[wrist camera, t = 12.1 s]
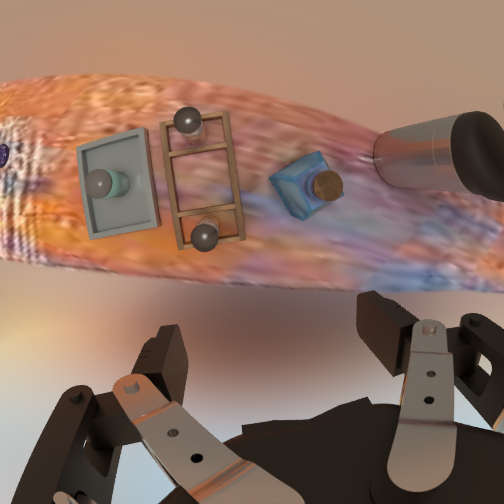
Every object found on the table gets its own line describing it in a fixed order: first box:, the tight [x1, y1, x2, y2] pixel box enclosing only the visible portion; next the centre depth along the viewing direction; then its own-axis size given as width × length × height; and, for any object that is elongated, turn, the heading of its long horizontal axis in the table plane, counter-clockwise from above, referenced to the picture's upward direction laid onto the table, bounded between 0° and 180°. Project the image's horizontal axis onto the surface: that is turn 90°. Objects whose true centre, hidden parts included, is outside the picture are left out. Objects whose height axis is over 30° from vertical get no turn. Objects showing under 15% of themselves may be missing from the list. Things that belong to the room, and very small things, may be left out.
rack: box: [160, 111, 246, 250], centre depth 36 cm, size 9×18×2 cm, turn 8°
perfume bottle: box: [269, 151, 344, 221], centre depth 33 cm, size 6×6×12 cm
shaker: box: [85, 169, 130, 199], centre depth 32 cm, size 4×4×7 cm
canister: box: [191, 215, 220, 252], centre depth 34 cm, size 3×3×10 cm
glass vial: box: [173, 107, 207, 145], centre depth 31 cm, size 3×3×10 cm
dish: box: [76, 127, 161, 240], centre depth 35 cm, size 11×14×2 cm
